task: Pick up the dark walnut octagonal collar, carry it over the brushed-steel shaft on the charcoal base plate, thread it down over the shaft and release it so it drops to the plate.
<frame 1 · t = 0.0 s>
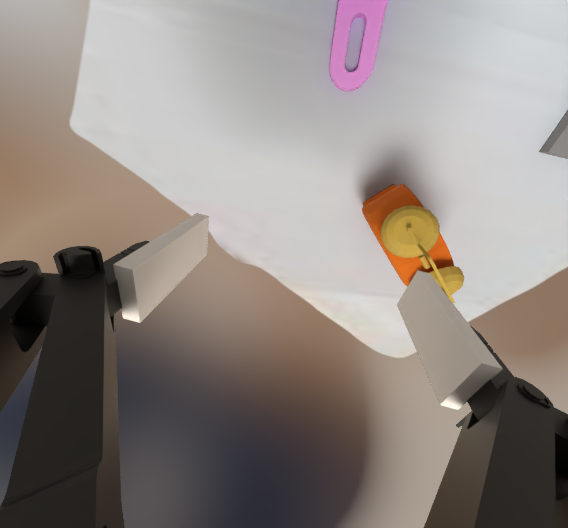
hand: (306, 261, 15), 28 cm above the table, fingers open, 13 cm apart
bracket: (357, 28, 30), on the table
alarm clock: (389, 218, 40), on the table
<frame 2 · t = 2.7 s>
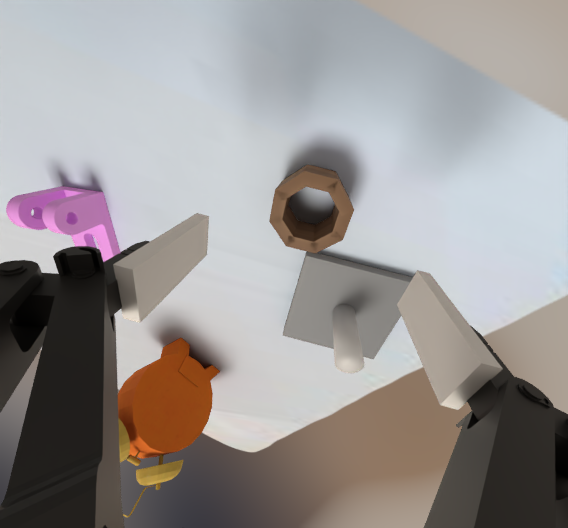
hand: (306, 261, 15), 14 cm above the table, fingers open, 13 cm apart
bracket: (100, 235, 33), on the table
post: (342, 306, 33), on the table
alarm clock: (191, 359, 44), on the table
collar: (312, 202, 26), on the table
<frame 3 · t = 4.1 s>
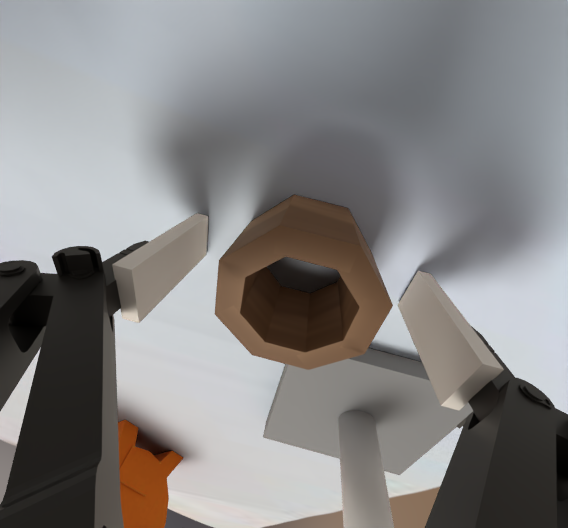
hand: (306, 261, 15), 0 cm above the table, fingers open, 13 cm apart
post: (354, 403, 21), on the table
alarm clock: (144, 441, 32), on the table
collar: (304, 258, 15), on the table
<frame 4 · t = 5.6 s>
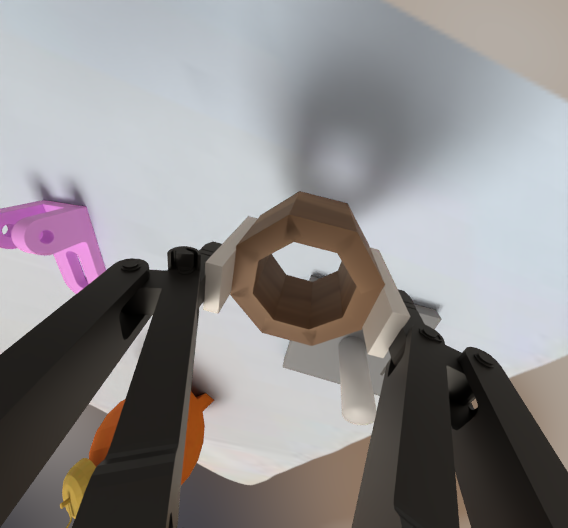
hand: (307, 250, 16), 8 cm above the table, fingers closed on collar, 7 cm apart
bracket: (84, 252, 31), on the table
post: (350, 337, 29), on the table
alarm clock: (183, 385, 40), on the table
collar: (307, 249, 16), point 8 cm above the table, touching gripper
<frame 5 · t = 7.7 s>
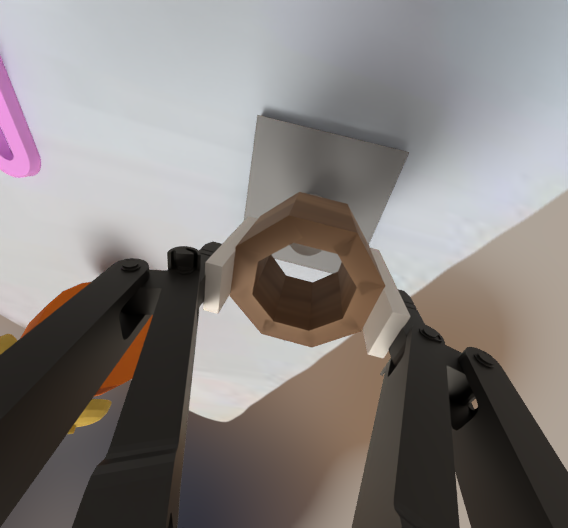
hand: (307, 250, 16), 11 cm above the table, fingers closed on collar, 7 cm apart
bracket: (5, 114, 26), on the table
post: (312, 204, 26), on the table
alarm clock: (142, 298, 37), on the table
collar: (307, 250, 16), point 11 cm above the table, touching gripper
when the fingers open (3 cm above the table, at t = 9.8 s): collar drops 1 cm, resting on post.
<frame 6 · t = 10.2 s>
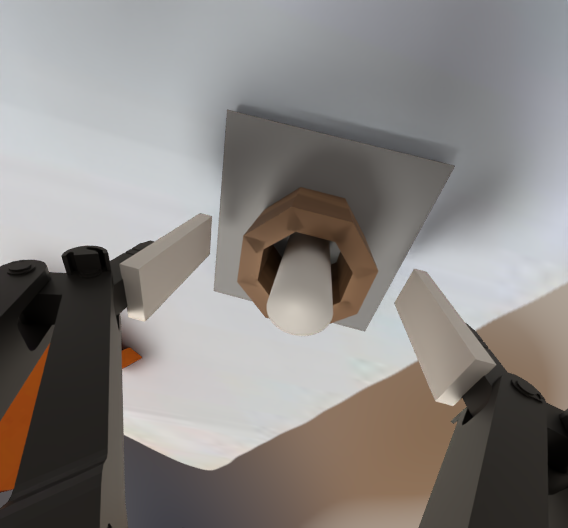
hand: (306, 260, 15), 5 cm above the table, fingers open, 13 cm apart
post: (310, 234, 19), on the table
alarm clock: (100, 338, 30), on the table
collar: (308, 241, 17), point 1 cm above the table, touching post
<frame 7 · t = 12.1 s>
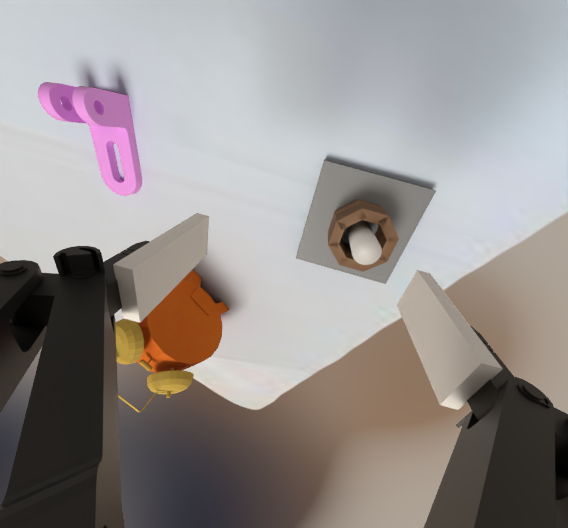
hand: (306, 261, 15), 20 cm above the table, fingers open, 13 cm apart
bracket: (121, 148, 34), on the table
post: (356, 224, 33), on the table
alarm clock: (202, 295, 44), on the table
collar: (357, 228, 32), point 1 cm above the table, touching post
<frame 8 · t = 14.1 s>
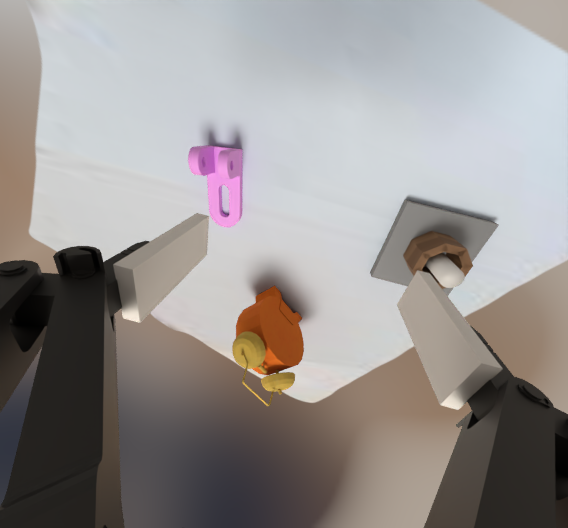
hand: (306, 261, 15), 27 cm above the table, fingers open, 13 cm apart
bracket: (227, 188, 41), on the table
post: (425, 249, 40), on the table
alarm clock: (278, 307, 52), on the table
collar: (428, 253, 39), point 1 cm above the table, touching post
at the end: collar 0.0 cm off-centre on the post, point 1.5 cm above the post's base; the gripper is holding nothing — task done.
